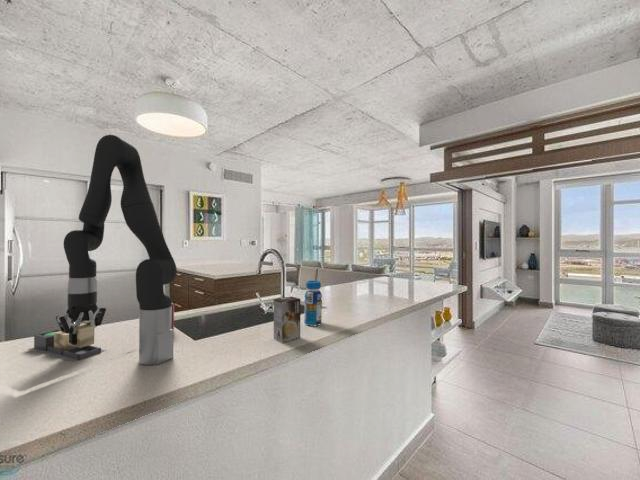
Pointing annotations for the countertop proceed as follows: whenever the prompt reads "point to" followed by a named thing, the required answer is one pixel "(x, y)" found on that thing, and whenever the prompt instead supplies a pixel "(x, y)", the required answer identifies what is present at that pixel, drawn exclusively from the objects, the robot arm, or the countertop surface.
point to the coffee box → (286, 319)
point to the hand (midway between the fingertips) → (82, 341)
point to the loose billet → (84, 335)
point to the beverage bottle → (313, 303)
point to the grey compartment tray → (71, 354)
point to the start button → (49, 334)
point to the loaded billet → (61, 340)
